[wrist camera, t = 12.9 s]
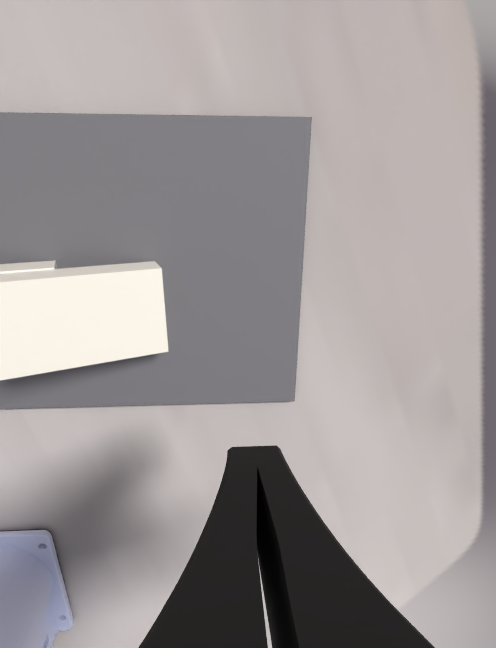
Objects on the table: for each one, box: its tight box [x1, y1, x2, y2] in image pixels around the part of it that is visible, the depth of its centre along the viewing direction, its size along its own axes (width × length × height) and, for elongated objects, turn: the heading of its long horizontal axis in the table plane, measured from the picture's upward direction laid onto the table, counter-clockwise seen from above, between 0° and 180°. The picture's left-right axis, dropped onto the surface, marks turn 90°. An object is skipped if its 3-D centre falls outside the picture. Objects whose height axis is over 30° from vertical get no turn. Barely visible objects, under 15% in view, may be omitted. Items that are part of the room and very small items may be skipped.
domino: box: [0, 261, 168, 380], centre depth 16 cm, size 4×2×7 cm
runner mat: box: [0, 113, 312, 409], centre depth 18 cm, size 14×28×1 cm, turn 90°
